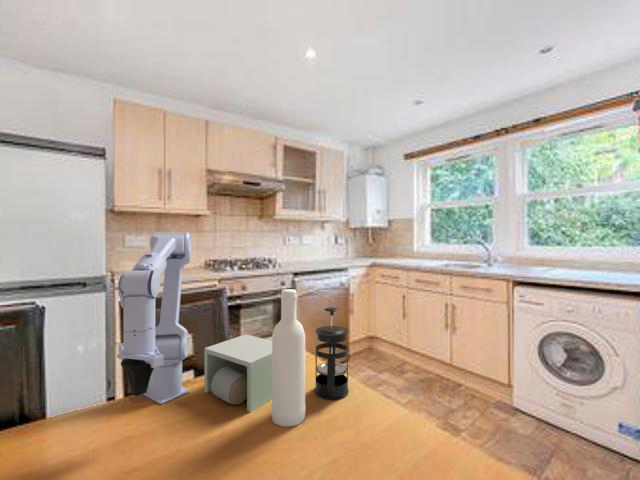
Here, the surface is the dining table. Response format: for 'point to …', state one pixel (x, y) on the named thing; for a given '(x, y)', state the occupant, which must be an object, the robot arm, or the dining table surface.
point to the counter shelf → (243, 366)
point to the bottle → (288, 365)
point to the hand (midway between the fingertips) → (139, 393)
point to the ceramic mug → (230, 385)
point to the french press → (331, 362)
